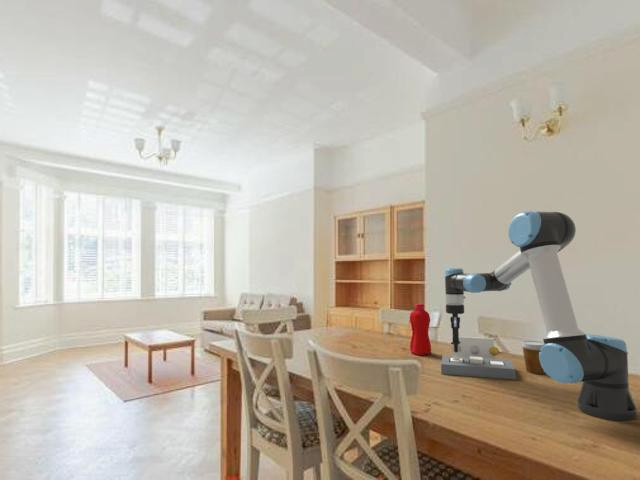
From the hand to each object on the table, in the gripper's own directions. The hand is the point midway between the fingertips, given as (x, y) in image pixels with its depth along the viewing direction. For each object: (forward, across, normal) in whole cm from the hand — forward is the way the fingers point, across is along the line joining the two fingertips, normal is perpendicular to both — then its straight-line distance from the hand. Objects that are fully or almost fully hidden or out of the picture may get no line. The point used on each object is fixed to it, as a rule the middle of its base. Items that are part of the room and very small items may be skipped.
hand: (456, 359), depth 173 cm
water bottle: (+5, +26, +18) cm, 32 cm away
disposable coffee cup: (+5, +6, -31) cm, 32 cm away
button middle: (+2, 0, -8) cm, 8 cm away
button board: (+5, 0, -8) cm, 9 cm away
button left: (+3, 0, 0) cm, 3 cm away
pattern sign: (+5, +16, -8) cm, 19 cm away
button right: (+3, 0, -16) cm, 16 cm away
